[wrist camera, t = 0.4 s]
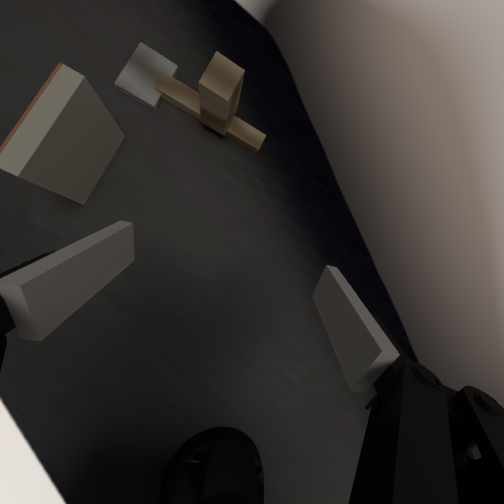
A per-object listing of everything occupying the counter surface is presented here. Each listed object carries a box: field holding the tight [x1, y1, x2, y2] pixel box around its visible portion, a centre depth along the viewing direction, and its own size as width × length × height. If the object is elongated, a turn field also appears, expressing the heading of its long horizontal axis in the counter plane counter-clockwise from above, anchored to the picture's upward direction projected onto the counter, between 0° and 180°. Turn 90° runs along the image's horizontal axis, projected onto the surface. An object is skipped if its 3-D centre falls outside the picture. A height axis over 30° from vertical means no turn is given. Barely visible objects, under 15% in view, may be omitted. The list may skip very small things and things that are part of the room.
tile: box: [0, 62, 125, 205], centre depth 24 cm, size 12×2×10 cm, turn 155°
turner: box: [114, 42, 266, 155], centre depth 28 cm, size 8×23×8 cm, turn 65°
